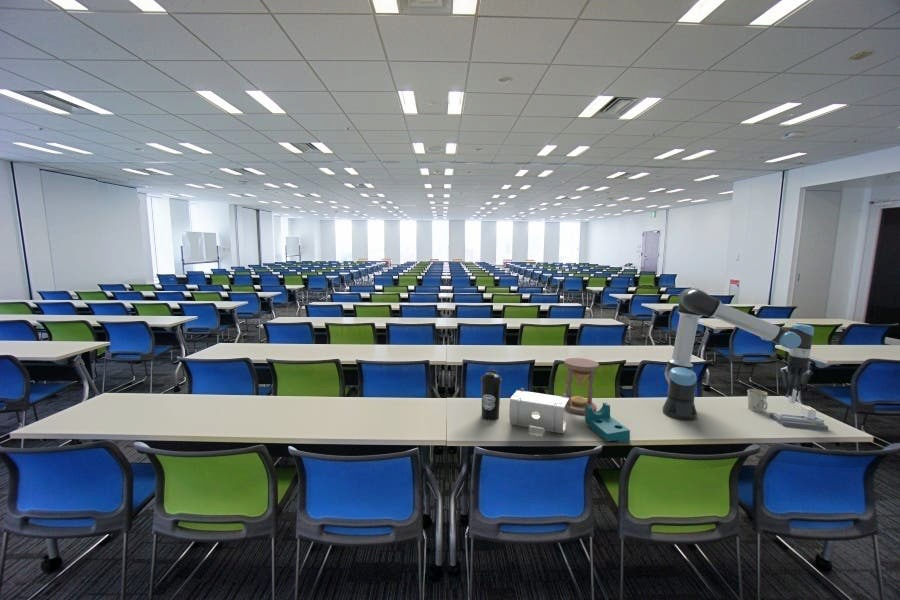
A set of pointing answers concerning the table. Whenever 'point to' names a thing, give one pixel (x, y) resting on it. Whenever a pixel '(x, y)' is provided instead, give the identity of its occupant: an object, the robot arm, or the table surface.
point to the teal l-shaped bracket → (606, 424)
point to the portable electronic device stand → (544, 405)
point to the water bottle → (491, 395)
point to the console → (799, 421)
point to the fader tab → (808, 412)
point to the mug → (757, 400)
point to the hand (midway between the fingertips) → (791, 402)
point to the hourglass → (581, 373)
